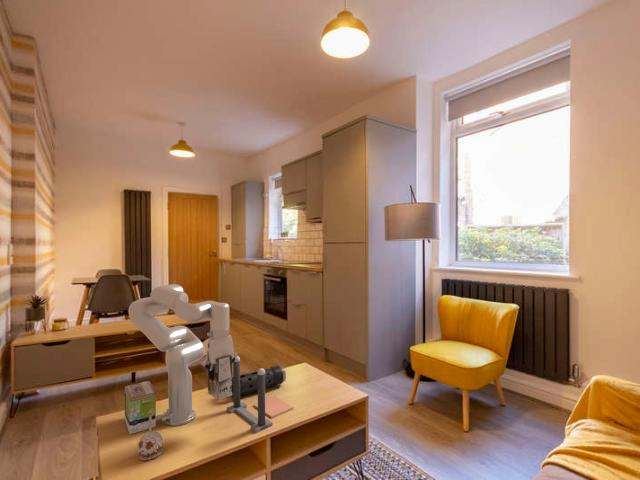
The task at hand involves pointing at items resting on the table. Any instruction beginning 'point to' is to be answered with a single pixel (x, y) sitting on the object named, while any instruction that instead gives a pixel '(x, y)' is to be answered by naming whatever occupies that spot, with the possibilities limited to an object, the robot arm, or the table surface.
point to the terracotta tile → (275, 407)
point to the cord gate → (239, 407)
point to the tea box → (140, 406)
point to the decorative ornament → (150, 443)
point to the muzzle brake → (250, 380)
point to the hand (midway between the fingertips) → (219, 376)
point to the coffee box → (221, 378)
